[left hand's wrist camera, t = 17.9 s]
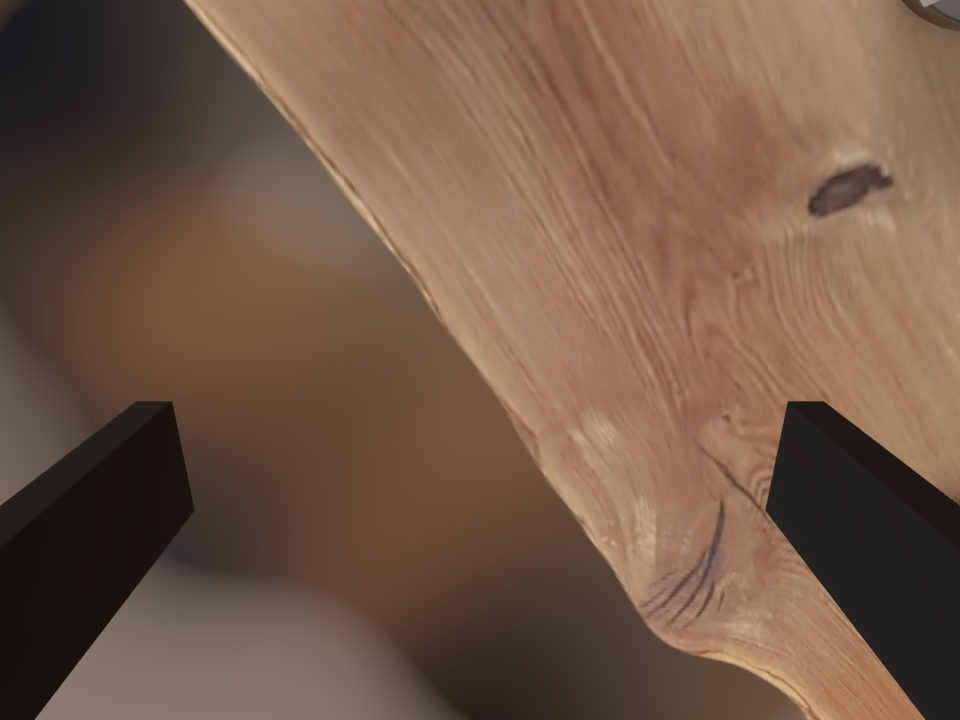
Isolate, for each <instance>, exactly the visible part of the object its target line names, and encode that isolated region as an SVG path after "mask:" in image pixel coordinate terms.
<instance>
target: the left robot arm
mask: <svg viewBox="0 0 960 720" xmlns="http://www.w3.org/2000/svg"><path fill="white" fill-rule="evenodd" d="M902 1H903V2H904V3H905V4H906V5H907V6H908V7H909V8H910V9H911V10H912V11H913V12H915V13H916V14H917V15H919V16H920V17H922V18H923V19H925V20H927V21H928V22H930V23H933V24H935V25H937V26H940V27H944V28H947V29H952V30H959V31H960V0H902ZM765 511H766V512H767V513H768V515H769V516H770V517H771V518H772V520H773V521H774V522H775V524H776V525H777V526H778V528H779V529H780V530H781V532H782V533H783V534H784V535H785V537H786V538H787V539H788V541H789V542H790V543H791V545H792V546H793V547H794V549H795V550H796V551H797V552H798V554H799V555H800V556H801V558H802V559H803V560H804V562H805V563H806V564H807V565H808V567H809V568H810V569H811V571H812V572H813V573H814V575H815V576H816V577H817V579H818V580H819V581H820V582H821V584H822V585H823V586H824V588H825V589H826V590H827V592H828V593H829V594H830V596H831V597H832V598H833V599H834V601H835V602H836V603H837V605H838V606H839V607H840V609H841V610H842V611H843V613H844V614H845V615H846V616H847V618H848V619H849V620H850V622H851V623H852V624H853V626H854V627H855V628H856V630H857V631H858V632H859V633H860V635H861V636H862V637H863V639H864V640H865V641H866V643H867V644H868V645H869V647H870V648H871V649H872V650H873V652H874V653H875V654H876V656H877V657H878V658H879V660H880V661H881V662H882V664H883V665H884V666H885V667H886V669H887V670H888V671H889V673H890V674H891V675H892V677H893V678H894V679H895V680H896V682H897V683H898V684H899V686H900V687H901V688H902V690H903V691H904V692H905V694H906V695H907V696H908V697H909V699H910V700H911V701H912V703H913V704H914V705H915V707H916V708H917V709H918V711H919V712H920V713H921V714H922V716H923V717H924V718H925V720H960V506H959V505H958V504H957V503H955V502H954V501H953V500H951V499H950V498H949V497H948V496H946V495H945V494H944V493H942V492H941V491H940V490H938V489H937V488H936V487H935V486H933V485H932V484H931V483H929V482H928V481H927V480H925V479H924V478H923V477H922V476H920V475H919V474H918V473H916V472H915V471H914V470H912V469H911V468H910V467H909V466H907V465H906V464H905V463H903V462H902V461H901V460H899V459H898V458H897V457H895V456H894V455H893V454H892V453H890V452H889V451H888V450H886V449H885V448H884V447H882V446H881V445H880V444H879V443H877V442H876V441H875V440H873V439H872V438H871V437H869V436H868V435H867V434H866V433H864V432H863V431H862V430H860V429H859V428H858V427H856V426H855V425H854V424H853V423H851V422H850V421H849V420H847V419H846V418H845V417H843V416H842V415H841V414H839V413H838V412H837V411H836V410H834V409H833V408H832V407H830V406H829V405H828V404H826V403H825V402H824V401H788V403H787V408H786V413H785V418H784V423H783V428H782V432H781V437H780V442H779V447H778V452H777V457H776V462H775V466H774V471H773V476H772V481H771V486H770V491H769V496H768V500H767V505H766V510H765ZM193 512H194V505H193V501H192V496H191V491H190V486H189V481H188V476H187V471H186V466H185V462H184V457H183V452H182V447H181V442H180V437H179V432H178V428H177V423H176V418H175V413H174V408H173V403H172V401H137V402H135V403H134V404H132V405H131V406H130V407H128V408H127V409H126V410H124V411H123V412H122V413H121V414H119V415H118V416H117V417H115V418H114V419H113V420H112V421H110V422H109V423H108V424H106V425H105V426H104V427H102V428H101V429H100V430H98V431H97V432H96V433H94V434H93V435H92V436H91V437H89V438H88V439H87V440H85V441H84V442H83V443H81V444H80V445H79V446H78V447H76V448H75V449H74V450H72V451H71V452H70V453H68V454H67V455H66V456H65V457H63V458H62V459H61V460H59V461H58V462H57V463H55V464H54V465H53V466H51V467H50V468H49V469H48V470H46V471H45V472H44V473H42V474H41V475H40V476H38V477H37V478H36V479H35V480H33V481H32V482H31V483H29V484H28V485H27V486H25V487H24V488H23V489H22V490H20V491H19V492H18V493H16V494H15V495H14V496H12V497H11V498H10V499H9V500H7V501H6V502H5V503H3V504H2V505H1V506H0V720H35V718H36V717H37V716H38V714H39V713H40V712H41V710H42V709H43V708H44V707H45V705H46V704H47V703H48V701H49V700H50V699H51V697H52V696H53V695H54V694H55V692H56V691H57V690H58V688H59V687H60V686H61V684H62V683H63V682H64V680H65V679H66V678H67V677H68V675H69V674H70V673H71V671H72V670H73V669H74V667H75V666H76V665H77V664H78V662H79V661H80V660H81V658H82V657H83V656H84V654H85V653H86V652H87V650H88V649H89V648H90V647H91V645H92V644H93V643H94V641H95V640H96V639H97V637H98V636H99V635H100V633H101V632H102V631H103V629H104V628H105V627H106V625H107V624H108V623H109V622H110V620H111V619H112V618H113V616H114V615H115V614H116V613H117V611H118V610H119V609H120V607H121V606H122V605H123V603H124V602H125V601H126V599H127V598H128V597H129V596H130V594H131V593H132V592H133V590H134V589H135V588H136V586H137V585H138V584H139V582H140V581H141V580H142V578H143V577H144V576H145V575H146V573H147V572H148V571H149V569H150V568H151V567H152V565H153V564H154V563H155V562H156V560H157V559H158V558H159V556H160V555H161V554H162V552H163V551H164V550H165V548H166V547H167V546H168V545H169V543H170V542H171V541H172V539H173V538H174V537H175V535H176V534H177V533H178V531H179V530H180V529H181V528H182V526H183V525H184V524H185V522H186V521H187V520H188V518H189V517H190V516H191V514H192V513H193Z"/></svg>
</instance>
